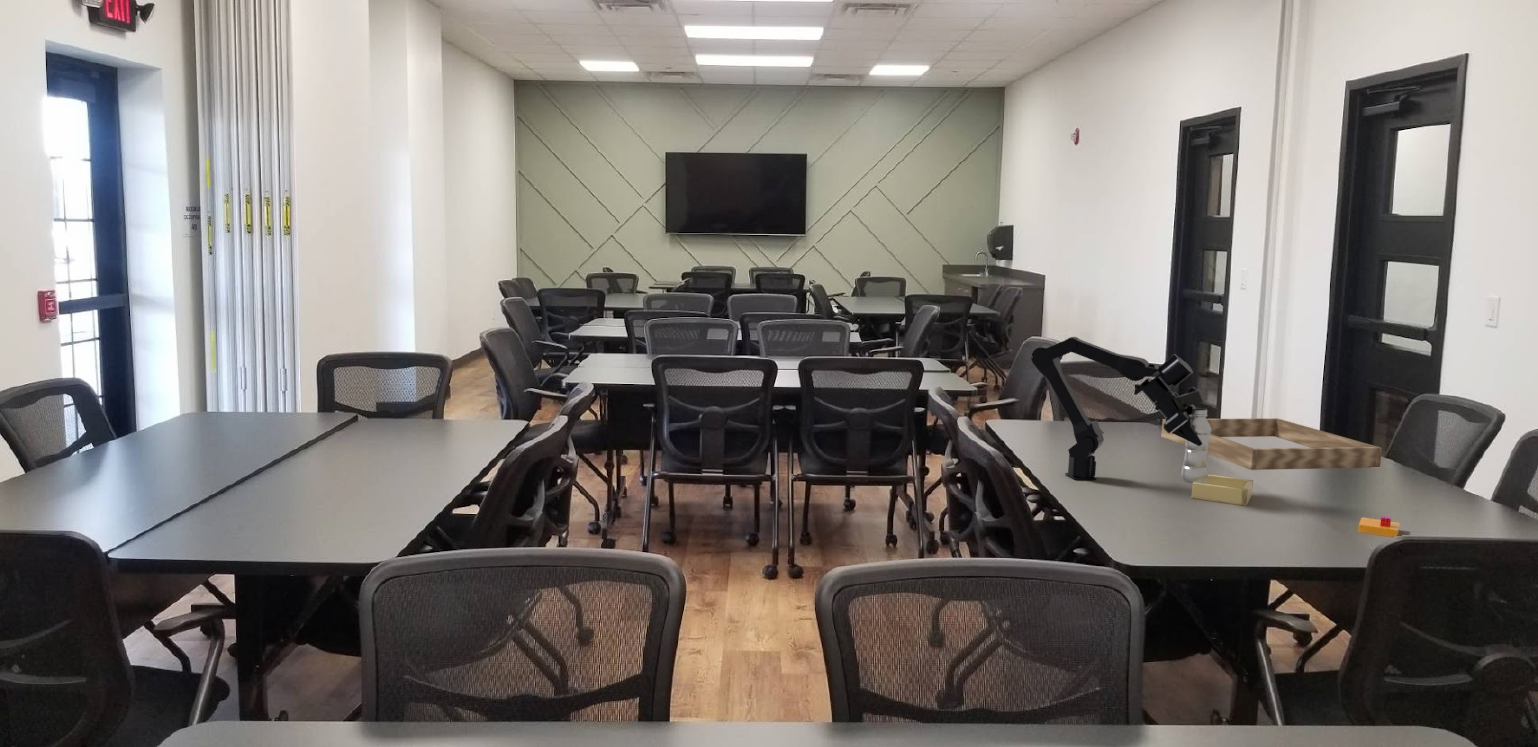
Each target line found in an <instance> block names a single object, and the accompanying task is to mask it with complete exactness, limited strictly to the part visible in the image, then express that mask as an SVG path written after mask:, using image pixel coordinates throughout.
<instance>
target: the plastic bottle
mask: <svg viewBox="0 0 1538 747" xmlns="http://www.w3.org/2000/svg"><path fill="white" fill-rule="evenodd" d="M1191 415H1192V423H1191V426H1192V428H1193V429H1194V431H1195V432H1196V434H1197V435H1198V437H1199V439H1200V440H1201V442H1202V445H1200V446H1198V445H1196V444H1194V443H1192V442H1190V441H1188V440H1185V445H1184V447H1185V449H1184V452H1185V453H1184V459H1183V464H1182V467H1181V470H1180V471H1181V473H1180V476H1181V479H1182V481H1183V482H1185V483H1188V484H1191V485H1192V483H1193V482H1195V483H1202V484H1204V483H1205V482H1206V481H1207V479H1208V475H1209V469H1208V454H1207V450H1208V443H1209V439H1210V434H1211V427H1210V425H1209V423H1208V421H1207V420H1206V419H1207V417H1208V409H1207V408H1201V407H1196V408H1192V413H1191Z"/></svg>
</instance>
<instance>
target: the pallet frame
mask: <svg viewBox="0 0 1538 747" xmlns="http://www.w3.org/2000/svg"><path fill="white" fill-rule="evenodd" d="M1206 420H1207V421H1208V423H1209V425H1210V427H1211V434H1210V439H1209V443H1208V450H1207V455H1210V456H1213V457H1216V458H1218V459H1221V460H1224V461H1227V462H1229V463H1231V464H1234V465H1236V466H1240V467H1243V468H1245V469H1248V470H1250V471H1253V470H1254V471H1255V470H1256V471H1257V470H1260V471H1261V470H1263V471H1264V470H1268V471H1269V470H1271V471H1272V470H1314V469H1315V470H1317V469H1320V470H1321V469H1369V468H1370V469H1372V468H1371V467H1380V468H1381V460H1382V452H1383V451H1382V450H1383V448H1382V447H1380V446H1377V445H1373V444H1369V443H1366V442H1362V441H1359V440H1357V439H1356V440H1355V439H1352V438H1348V437H1346V436H1341V435H1338V434H1334V433H1331V432H1327V431H1324V430H1320V429H1317V428H1313V427H1309V426H1306V425H1303V424H1298V423H1295V422H1292V421H1288V420H1285V419H1283V418H1282V419H1281V418H1274V417H1273V418H1268V417H1267V418H1265V417H1263V418H1258V417H1257V418H1252V417H1251V418H1250V417H1249V418H1206ZM1165 422H1166V418H1162V421H1161V434H1160V435H1161V438H1162V439H1166V440H1169V441H1172V442H1174V443H1177V444H1180V445H1183V446H1185V439H1183V438H1181V437H1179V436H1177V435H1175V434H1172V432H1173V431H1174V430H1176V429H1174V430H1173V431H1171V432H1170V433H1169V434H1168V432H1167V431H1166V430H1165V429H1164V423H1165ZM1238 437H1239V438H1241V437H1242V438H1243V437H1244V438H1246V437H1253V438H1254V437H1255V438H1257V437H1262V438H1265V437H1266V438H1267V437H1275V438H1279V439H1283V440H1284V441H1287V442H1292V443H1295V444H1298V445H1301V446H1305V447H1283V448H1281V447H1279V448H1277V447H1275V448H1274V447H1273V448H1271V447H1270V448H1264V447H1263V448H1261V447H1260V448H1254V447H1251V446H1248V445H1245V444H1242V443H1239V442H1236V441H1233V440H1230V439H1227V438H1238Z"/></svg>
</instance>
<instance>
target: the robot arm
mask: <svg viewBox="0 0 1538 747" xmlns="http://www.w3.org/2000/svg"><path fill="white" fill-rule="evenodd" d="M1070 353H1073V354H1076V355H1077V356H1081V357H1083V358H1086V359H1088V360H1092V361H1094V362H1096V363H1099V364H1101V365H1104V366H1106V367H1109V368H1111V369H1113V370H1115V371H1116V372H1117V373H1118V374H1120V375H1121V376H1123V377H1124V378H1126V379H1127V380H1129V381H1132V382H1139V381H1142V380H1143V379H1144V378H1146V377H1147V378H1146V379H1145V380H1144V381H1142V382H1141V383H1135V384H1134V386H1133V387H1134V393H1133V395H1134V396H1136V395H1138V394H1140V393H1141V392H1142V393H1143V394H1144V395H1145V396H1146V397H1147V398H1148V399H1149V401H1151V403H1152V405H1153V406H1154V409H1155V411H1157V412H1158V411H1159V412H1160V413H1161V415H1163V417H1164V419H1166V422H1165V423H1164V429H1165V430H1166V431H1167V432H1168V434H1169V433H1170V432H1171V431H1173V430H1174V429H1176V430H1174V431H1173V432H1172V434H1175V435H1177V436H1179V437H1181V438H1183V439H1185V440H1188V441H1190V442H1192V443H1194V444H1196V445H1198V446H1200V445H1202V442H1201V440H1200V439H1199V437H1198V435H1197V434H1196V432H1195V431H1194V429H1193V428H1192V426H1191V423H1192V415H1191V413H1192V408H1197V407H1196V404H1197V405H1198V404H1201V403H1203V402H1204V401H1205V397H1204V393H1203V391H1202V389H1200V388H1196V387H1195V386H1193V387H1189V388H1188V389H1187V393H1184V394H1181V395H1179V394H1178V393H1177V392H1173V391H1172V390H1171V388H1170V386H1174V387H1178V385H1179V384H1181V383H1182V382H1183V381H1185V380H1186V379H1187V378H1188V377H1189V376H1191V375H1192V374H1193V373H1194V371H1193V369H1192V367H1190V365H1189V364H1188V363H1187V362H1186V361H1184V360H1183V359H1182V358H1181V357H1179V356H1178V355H1177V354H1176V353H1174V354H1172V355H1171V356H1170V357H1169V358H1168V360H1166V361H1165V362H1164V363H1162V364H1161V365H1158V364H1153V363H1149V361H1148V360H1147V359H1145V358H1143V357H1139V356H1133V355H1127V354H1120V353H1116V352H1114V351H1112V350H1110V349H1107V348H1104V347H1101V346H1098V345H1096V344H1092V343H1090V342H1088V341H1085V340H1083V339H1080V338H1079V337H1076V336H1071V337H1067V338H1065V340H1063V341H1061V342H1058V343H1055V344H1054V345H1043V346H1040V347H1039V346H1038V347H1037V348H1035V349H1034V350H1033V351H1032V353H1031V356H1030V360H1031V362H1032V364H1033V365H1034V366H1035V368H1036V369H1037V371H1038V372H1039V373H1040V374H1041V375H1042V376H1043V377H1044V378H1045V379H1047V381H1048V382H1049V384H1050V386H1051V388H1052V390H1053V391H1054V393H1055V396H1056V397H1057V399H1058V401H1059V402H1060V404H1061V405H1060V406H1062V408H1063V410H1064V411H1065V414H1066V416H1067V417H1068V419H1069V421H1070V422H1071V426H1072V428H1073V429H1072V430H1073V435H1074V439H1075V441H1076V443H1075V444H1074V445H1072V446H1071V447H1070V448H1069V449H1068V450H1067V452H1068V465H1067V472H1065V473H1064V474H1065V476H1066V477H1069V478H1071V479H1073V480H1077V481H1079V480H1082V481H1083V480H1097V477H1096V470H1097V462H1096V460H1095V459H1096V456H1095V455H1094V454H1095V452H1096V451H1097V450H1099V449H1100V448H1102V446H1103V443H1104V436H1103V434H1105V432H1104V431H1103V430H1102V429H1101V427H1100V425H1099V422H1098V420H1097V419H1096V420H1094V421H1091V420H1090V419H1089V418H1088V417H1087V415H1086V413H1085V412H1084V409H1083V408H1082V406H1081V404H1080V402H1079V400H1078V398H1077V397H1076V395H1075V393H1074V392H1073V389H1072V388H1071V386H1070V384H1069V382H1068V380H1067V379H1066V376H1065V375H1064V373H1063V370H1062V363H1061V360H1060V358H1061V357H1063V356H1065V355H1068V354H1070ZM1158 373H1159V374H1158ZM1156 374H1158V375H1156ZM1155 375H1156V376H1155ZM1153 376H1155V377H1154V378H1152V379H1151V378H1149V377H1153Z"/></svg>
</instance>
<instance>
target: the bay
mask: <svg viewBox="0 0 1538 747" xmlns="http://www.w3.org/2000/svg"><path fill="white" fill-rule="evenodd" d="M1191 485H1192V486H1191V498H1190V499H1195V500H1202V501H1208V502H1217V503H1222V504H1228V505H1229V504H1230V505H1237V506H1238V505H1239V506H1245V507H1247V505H1248V504H1249V502H1250V499H1251V498H1252V495H1253V485H1254V480H1253V479H1252V480H1251V479H1247V478H1246V479H1245V478H1238V477H1232V476H1231V477H1228V476H1223V475H1222V476H1221V475H1215V474H1208V479H1207V481H1206V482H1205V483H1204V484H1202V483H1195V482H1193V483H1192V484H1191Z"/></svg>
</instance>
